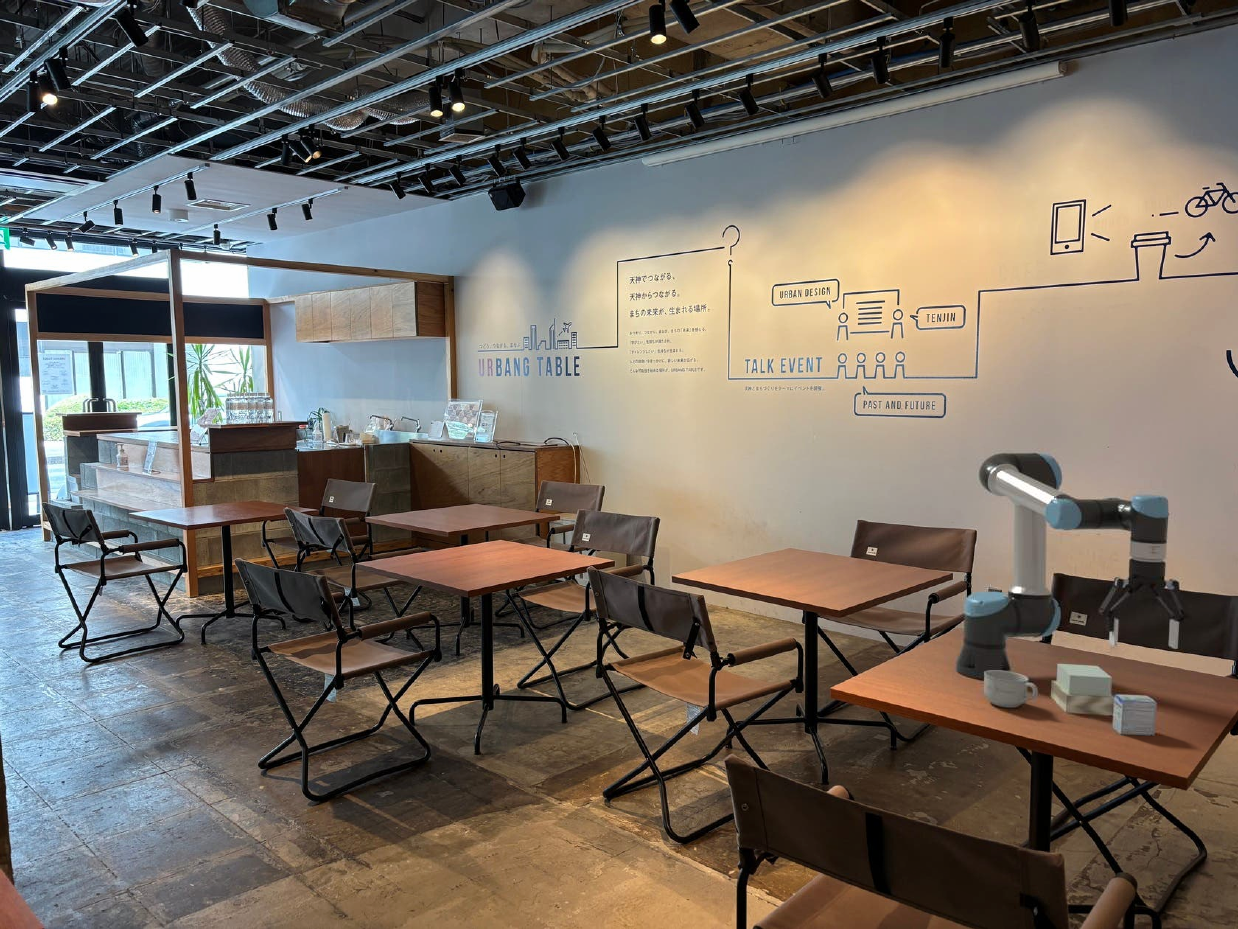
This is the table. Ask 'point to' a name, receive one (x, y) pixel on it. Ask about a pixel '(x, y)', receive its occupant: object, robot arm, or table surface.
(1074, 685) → the grey-green top block
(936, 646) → the table surface
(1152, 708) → the medicine box
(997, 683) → the teacup
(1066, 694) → the birch base block
